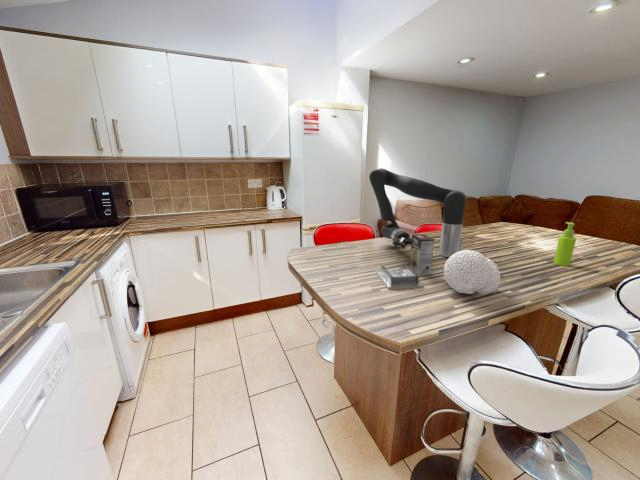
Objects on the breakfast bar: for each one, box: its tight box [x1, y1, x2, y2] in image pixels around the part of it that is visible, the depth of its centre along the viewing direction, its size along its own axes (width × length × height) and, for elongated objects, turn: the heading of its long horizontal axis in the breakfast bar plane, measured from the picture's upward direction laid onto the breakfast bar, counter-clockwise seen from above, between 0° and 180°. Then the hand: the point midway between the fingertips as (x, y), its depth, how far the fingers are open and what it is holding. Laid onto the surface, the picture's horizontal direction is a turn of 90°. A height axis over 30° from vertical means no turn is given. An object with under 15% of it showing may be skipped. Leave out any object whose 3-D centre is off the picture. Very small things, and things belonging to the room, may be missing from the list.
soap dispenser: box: [553, 221, 577, 267], centre depth 127 cm, size 6×7×20 cm
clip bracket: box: [375, 264, 424, 290], centre depth 113 cm, size 14×17×4 cm
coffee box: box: [408, 233, 436, 276], centre depth 120 cm, size 9×6×16 cm
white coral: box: [443, 249, 502, 296], centre depth 102 cm, size 20×18×16 cm
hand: (413, 246), depth 128 cm, fingers open, 8 cm apart
